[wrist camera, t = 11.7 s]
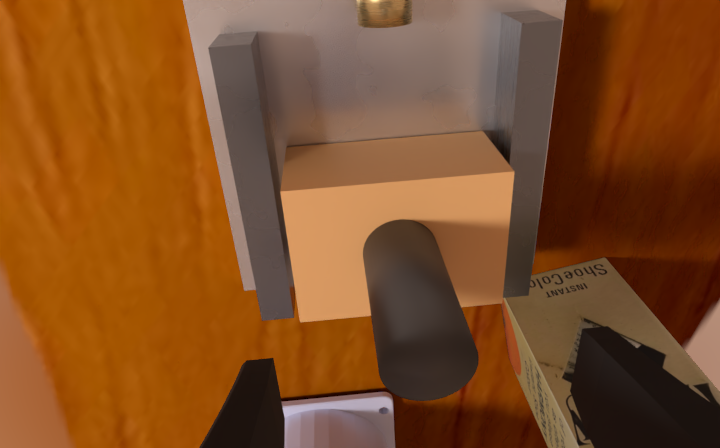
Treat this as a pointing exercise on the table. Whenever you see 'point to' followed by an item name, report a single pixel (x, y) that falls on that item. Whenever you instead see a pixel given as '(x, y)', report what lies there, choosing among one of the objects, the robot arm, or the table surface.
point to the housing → (384, 13)
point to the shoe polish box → (562, 336)
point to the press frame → (369, 103)
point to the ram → (401, 246)
